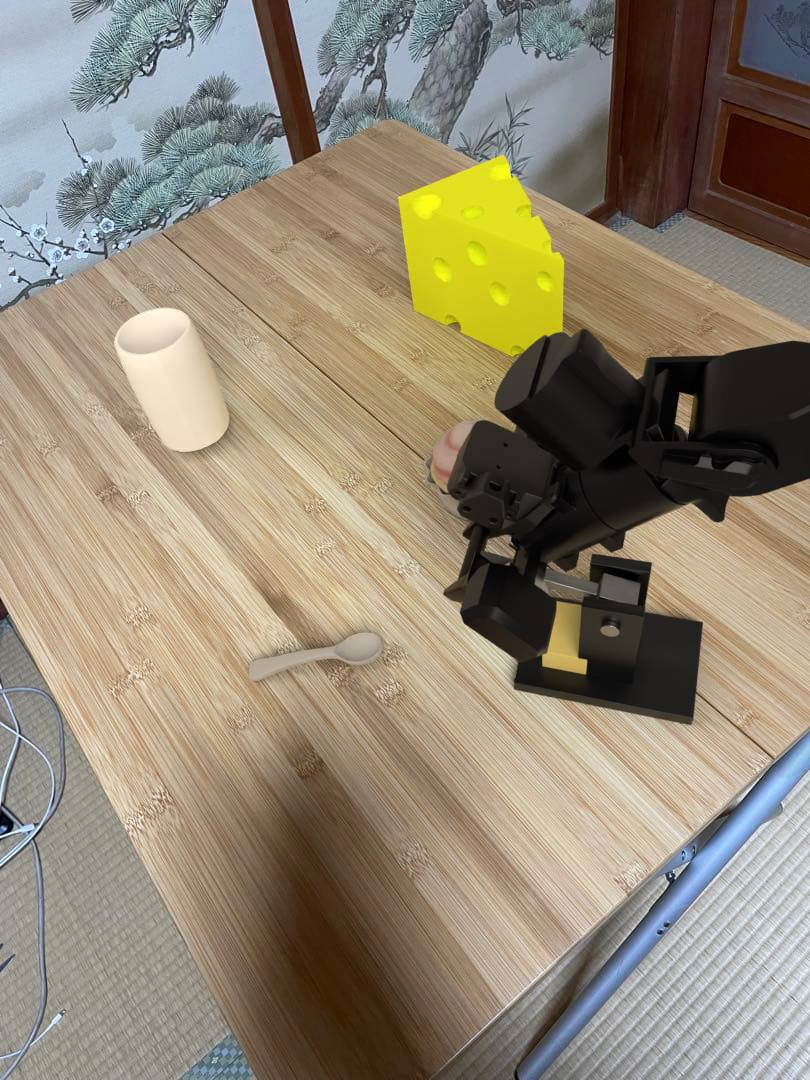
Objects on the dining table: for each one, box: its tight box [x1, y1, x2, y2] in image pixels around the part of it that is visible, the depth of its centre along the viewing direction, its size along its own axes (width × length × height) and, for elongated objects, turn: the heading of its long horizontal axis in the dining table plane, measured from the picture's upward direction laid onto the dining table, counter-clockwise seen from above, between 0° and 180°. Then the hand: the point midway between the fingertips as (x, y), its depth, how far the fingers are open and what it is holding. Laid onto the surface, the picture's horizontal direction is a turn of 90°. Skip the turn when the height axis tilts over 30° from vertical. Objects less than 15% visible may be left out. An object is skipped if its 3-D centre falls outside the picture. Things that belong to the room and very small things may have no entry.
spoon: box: [248, 631, 385, 682], centre depth 72 cm, size 3×12×2 cm, turn 97°
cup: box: [113, 306, 230, 453], centre depth 88 cm, size 8×8×14 cm
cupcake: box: [423, 419, 479, 522], centre depth 78 cm, size 9×9×10 cm
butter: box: [542, 601, 587, 674], centre depth 68 cm, size 5×4×2 cm
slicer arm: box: [457, 525, 640, 605], centre depth 63 cm, size 13×6×2 cm, turn 73°
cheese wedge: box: [397, 154, 565, 358], centre depth 94 cm, size 19×20×15 cm
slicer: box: [513, 553, 704, 726], centre depth 65 cm, size 14×9×11 cm, turn 73°
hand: (457, 565), depth 65 cm, fingers closed on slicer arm, 5 cm apart
